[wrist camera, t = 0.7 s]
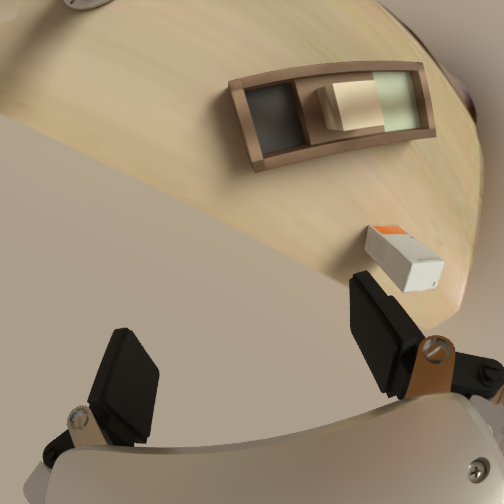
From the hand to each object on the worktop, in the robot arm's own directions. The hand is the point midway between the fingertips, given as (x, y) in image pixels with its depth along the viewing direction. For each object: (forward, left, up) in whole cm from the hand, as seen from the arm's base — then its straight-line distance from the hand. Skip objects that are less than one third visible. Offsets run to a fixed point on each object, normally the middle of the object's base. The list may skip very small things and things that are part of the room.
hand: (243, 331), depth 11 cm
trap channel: (-7, +16, -25) cm, 30 cm away
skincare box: (+13, +20, -25) cm, 35 cm away
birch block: (-7, +15, -23) cm, 28 cm away
